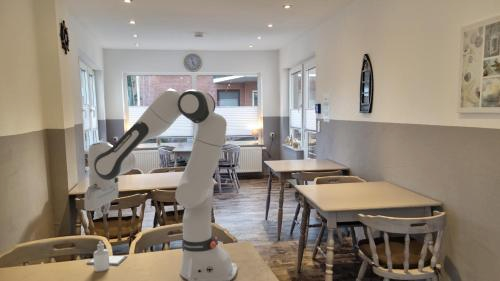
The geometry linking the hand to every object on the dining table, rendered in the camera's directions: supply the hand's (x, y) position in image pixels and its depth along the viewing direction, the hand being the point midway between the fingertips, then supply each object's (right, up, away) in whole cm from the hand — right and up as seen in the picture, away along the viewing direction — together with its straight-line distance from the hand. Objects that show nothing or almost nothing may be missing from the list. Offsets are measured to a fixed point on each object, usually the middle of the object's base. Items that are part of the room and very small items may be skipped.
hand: (103, 215), depth 139 cm
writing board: (-1, -21, +7) cm, 23 cm away
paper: (-1, -21, +7) cm, 23 cm away
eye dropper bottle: (0, -22, -1) cm, 22 cm away
